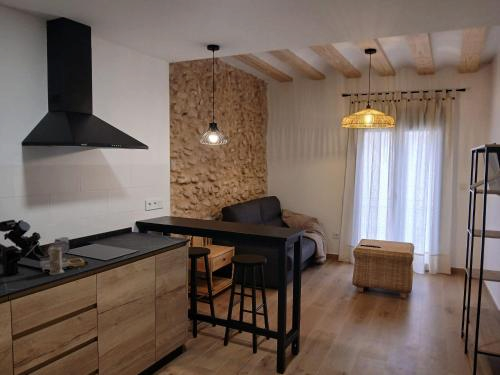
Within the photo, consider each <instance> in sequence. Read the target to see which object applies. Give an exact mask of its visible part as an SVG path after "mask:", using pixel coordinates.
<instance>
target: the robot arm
mask: <svg viewBox="0 0 500 375" xmlns="http://www.w3.org/2000/svg"><path fill="white" fill-rule="evenodd" d="M29 230H31V225H30V224H29V222H27V221H24V219H20V220H18V221H16V220H15V219H8V220H4V221H0V232H2V233H5V232H6V233H5V234H4V235H3V238H4V241H5V240H7V239H8V240H9V241H10V242H12V244H15V245H9V246H6V245H3V243H0V265H2V273H0V275H3V276H5V277H6V276H7V277H10V276H14V275H17V274H20V271H19V264H18V262H20V261H21V259H23V258H24V259H28V260H31V261H32V260H33V261H37V262H41V260H42V259H41V258H40V257H42V258H43V257H45V252H43V250H42V249H41V247H40V241H39V240H41V238H42V237H41V234H40V233H39V232H37V231H35V232H33V233H32V235H31V236H24V235H25V234H27V233H28V231H29ZM7 232H8V233H7ZM19 248H20V249H19ZM39 256H40V257H39Z"/></svg>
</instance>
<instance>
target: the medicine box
mask: <svg viewBox="0 0 500 375" xmlns="http://www.w3.org/2000/svg"><path fill="white" fill-rule="evenodd" d="M61 241H65V242H67V243H68V244H69V243H70V242H69V237H68V236H67V237H66V236H63V237H59V238H55V239H54V243H55V242H61ZM69 245H70V244H69Z"/></svg>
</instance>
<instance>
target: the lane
mask: <svg viewBox="0 0 500 375" xmlns="http://www.w3.org/2000/svg"><path fill="white" fill-rule="evenodd" d="M39 263H40V264H39V265H40V266H39V267H41V266H43V267H42V272H45V271H44V270H45V269H50V260H45V261H44V260H43V261H39ZM44 265H45V266H44ZM65 266H69V262H67V258H62V267H65Z"/></svg>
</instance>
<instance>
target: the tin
mask: <svg viewBox="0 0 500 375" xmlns="http://www.w3.org/2000/svg"><path fill="white" fill-rule="evenodd" d="M53 247H62V255H65V254H67V253H68V252H69V251H70V249H71V248H70V247H71V246H70V244H68V243H67V242H65V241H61V242H55V241H54V242H50V243H48V244H47V245H46V246H45V248H44V254H46V255H47V256H49V257H50V249H51V248H53Z"/></svg>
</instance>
